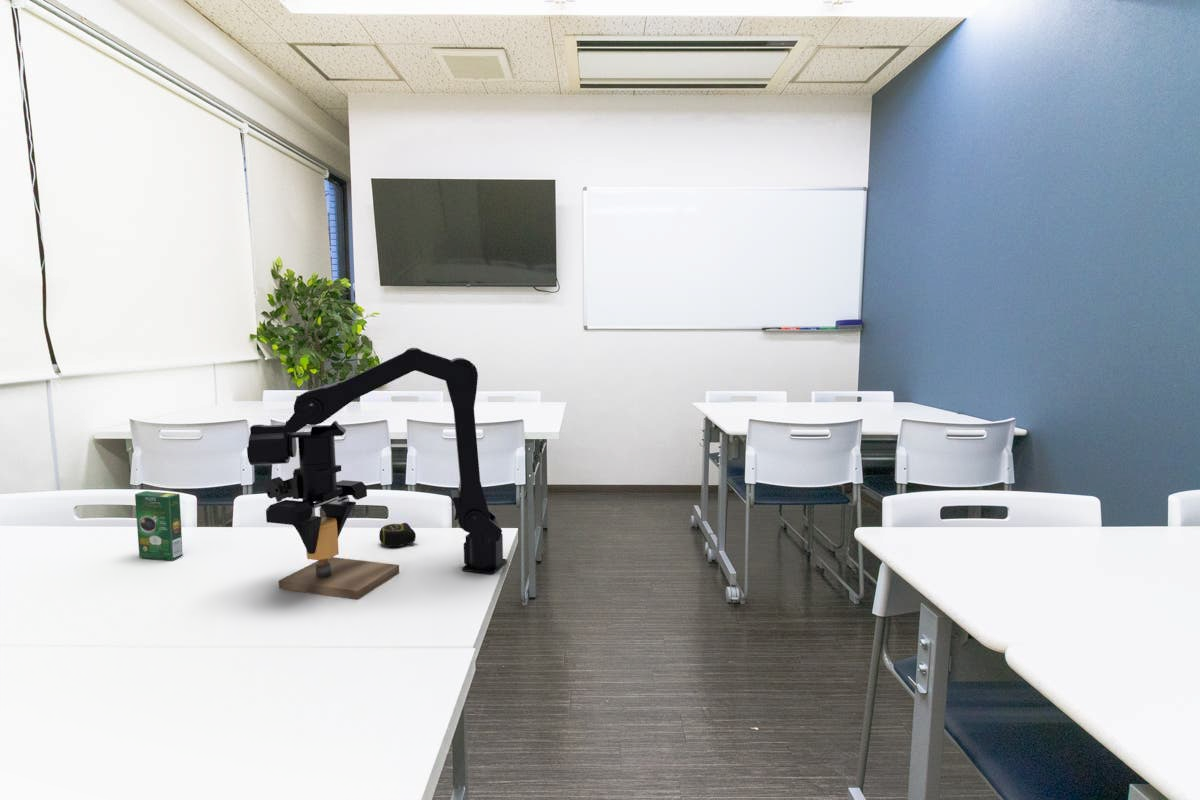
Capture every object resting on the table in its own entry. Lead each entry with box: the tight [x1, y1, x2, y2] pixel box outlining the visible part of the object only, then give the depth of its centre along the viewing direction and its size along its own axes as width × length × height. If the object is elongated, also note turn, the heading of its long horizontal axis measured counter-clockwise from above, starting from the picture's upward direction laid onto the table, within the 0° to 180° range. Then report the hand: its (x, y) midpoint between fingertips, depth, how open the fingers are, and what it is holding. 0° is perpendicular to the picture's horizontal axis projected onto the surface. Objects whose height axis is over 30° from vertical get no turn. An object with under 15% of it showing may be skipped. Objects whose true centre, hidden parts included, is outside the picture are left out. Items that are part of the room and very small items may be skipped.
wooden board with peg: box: [278, 556, 400, 600], centre depth 111 cm, size 16×12×6 cm
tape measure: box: [378, 522, 417, 547], centre depth 131 cm, size 7×7×4 cm
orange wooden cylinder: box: [305, 516, 339, 561], centre depth 109 cm, size 5×5×6 cm
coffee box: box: [134, 490, 184, 561], centre depth 122 cm, size 8×3×13 cm, turn 79°
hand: (322, 548), depth 110 cm, fingers closed on orange wooden cylinder, 5 cm apart
